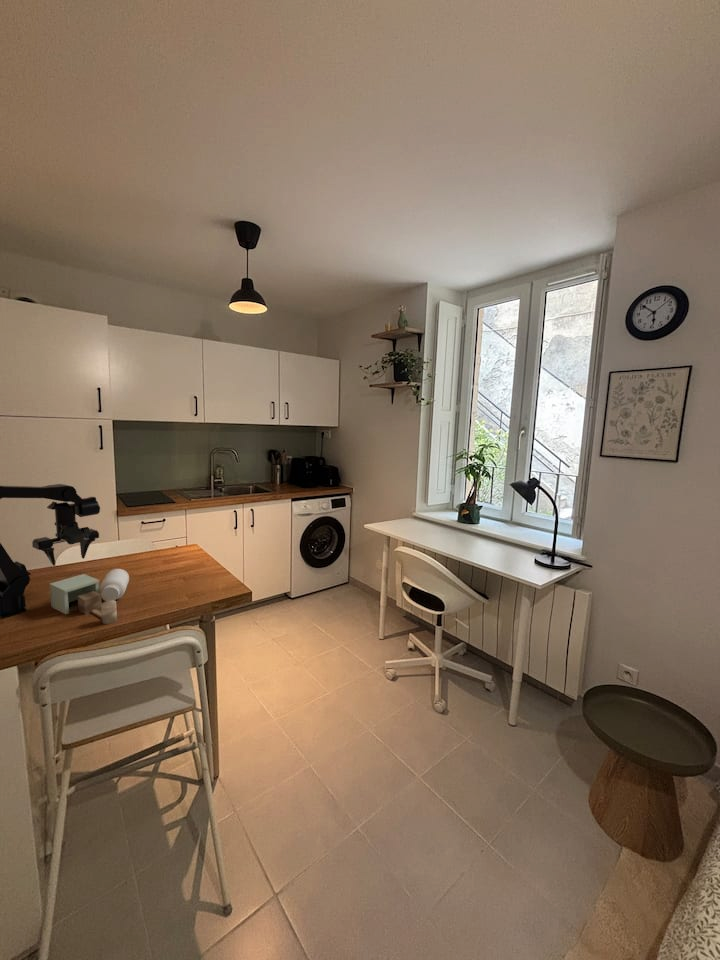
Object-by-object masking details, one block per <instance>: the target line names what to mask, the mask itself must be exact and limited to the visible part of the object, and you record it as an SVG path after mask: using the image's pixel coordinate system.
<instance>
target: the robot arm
mask: <svg viewBox="0 0 720 960" xmlns="http://www.w3.org/2000/svg"><path fill="white" fill-rule="evenodd" d="M2 499H47V500H53V501H52V502H51V503H50V504H49V505H48V506H47V507H46V508H47V509H48V510H53V511H54V515H55V518H54V519H55V522H53V523H54V526H56V528H55V529H56V532H55V534H54V536H55V538H49V537H47V536H44V537H38V538H34V539H33V540H32V544H31V545H32V548H34V549H35V550H38V551H43V552H44V554H45V555H46V557H47V558H48V561H50V563H51V565H52V566H56V560H55V559H56V558H55V552H54V551H55V547H53V546H54V545H56V544H61V543H66V542H67V545H75V544H78V543H79V547H80V556H81V559H85V558H86V555H87V551H88V549H89V547H90V545H91V544H92V543H93V542H95V541H96V539H99V538H100V533H99V531H98V530H97V529H94V528H90V527H88V526H83V527H79V524H78V521H76V520H77V519H76V516H78V517H79V518H82V517H83V518H84V517H90V516H95V515H99V514H100V511H101V506H100V504H99V502H98V500H97V497H95V496H88V497H84V498H82V497H81V496H80V495H79V494H77V489H75V487H74V486H71V485H67V484H63V483H56V484H48V485H45V486H44V485H43V486H29V485H28V486H26V485H25V486H24V485H23V486H22V485H0V500H2ZM56 501H58V502H59V503H58V502H56ZM30 575H32V573H31V572H29V571H28V569H27V567H26V565H25V564H24V563H22V562H19V561H13V559H12V558H11V556H10V554H8V552H7V551H6V549H5V547H4V546H3V544H2V543H1V542H0V618H1V619H4V618H8V617H11V616H14V615H17V614H20V613H21V614H22V613H23V612H26V611H28V609H27V608H26V607H27V605H26V603H27V602H26V595H24V593H25V590H26V588H27V587H28V585H29V584H30V582H31V576H30Z"/></svg>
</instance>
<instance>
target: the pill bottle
mask: <svg viewBox="0 0 720 960" xmlns="http://www.w3.org/2000/svg"><path fill="white" fill-rule="evenodd" d="M129 581H130V576H129V573H128V572H127V571H126V570H124V569H122V568H114V569H111V570H110V571H108V572H107V574H105V576H104V578H103V581H102V583H101V584H100V585H99V594H101V600H102V601H104V602H105V601H110V600H114V601H116V600H118V599H120V598H121V597H122V596H123V595H124V594H125V592H126V590H127V588H128V587H127V586H128V584H129Z"/></svg>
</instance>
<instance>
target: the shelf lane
mask: <svg viewBox="0 0 720 960" xmlns="http://www.w3.org/2000/svg"><path fill="white" fill-rule="evenodd" d="M99 588H100V579H97V578H95V577H92V576H90V575H88V574H85V573H82V574H79V575H75V576H72V577H69V578H68V577H67V578H65V579H62V580H58V581H54V582H51V583H49V593H50V605H51V608H52V609H55V610H57V611H59V612H61V613H62V614H63V615H67V614H70V607H69V605H70V603H72V602H74V601H78V597H77V596H79V595H83V594H86V593H89V592H93V591H95V592H97V593H99ZM99 594H100V593H99Z"/></svg>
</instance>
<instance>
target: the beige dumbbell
mask: <svg viewBox="0 0 720 960" xmlns="http://www.w3.org/2000/svg"><path fill="white" fill-rule="evenodd" d="M77 597H78V600H77V608H78V611H79V612H81V613H82V614H84V615H89V614H91V613H92V614H94V616H97V617H98V618H100V619H101V622H102V624H104V625H110V624H113V623H116V622H117V621H118V614H117V613H118V612H117V601H116V600H110V601H105V600H104V601H103V599H102V597H101V594H100V593H97V592H95V591H93V592H89V593H86V594H83V595H79V596H77ZM102 601H103V602H102Z"/></svg>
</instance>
